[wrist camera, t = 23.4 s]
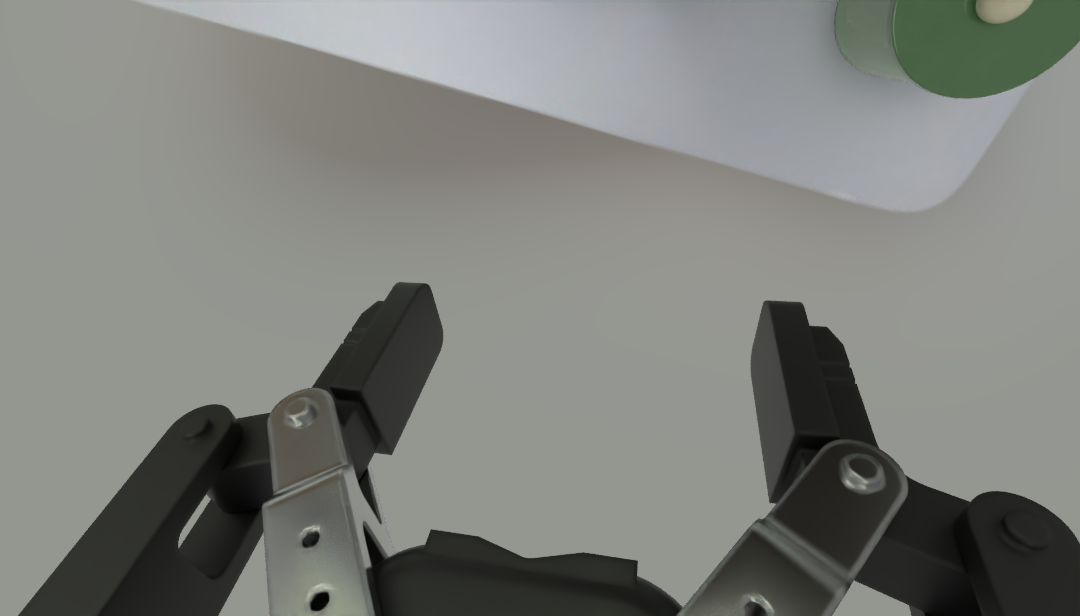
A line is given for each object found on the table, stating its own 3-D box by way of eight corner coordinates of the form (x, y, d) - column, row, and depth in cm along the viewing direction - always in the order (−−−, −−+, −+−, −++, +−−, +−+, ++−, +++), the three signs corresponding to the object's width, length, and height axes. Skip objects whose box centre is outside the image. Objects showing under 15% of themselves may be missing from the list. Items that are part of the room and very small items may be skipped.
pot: (818, 83, 28) (883, 105, 20) (844, -66, 25) (935, -116, 17) (959, 77, 27) (1095, 99, 18) (1004, -82, 24) (1193, -145, 15)
